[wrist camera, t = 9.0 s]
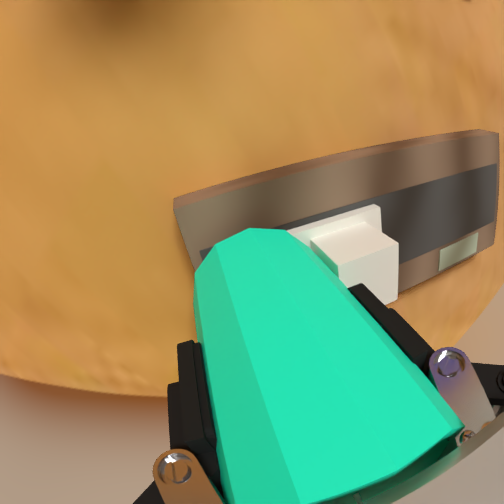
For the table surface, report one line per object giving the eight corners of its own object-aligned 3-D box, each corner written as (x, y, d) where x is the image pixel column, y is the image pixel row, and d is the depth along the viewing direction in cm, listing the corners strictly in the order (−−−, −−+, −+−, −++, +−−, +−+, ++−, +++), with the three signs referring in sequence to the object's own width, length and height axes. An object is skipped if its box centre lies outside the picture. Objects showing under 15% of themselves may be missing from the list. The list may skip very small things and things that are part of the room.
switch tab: (373, 203, 15) (415, 225, 12) (377, 269, 17) (412, 299, 14) (283, 231, 14) (312, 262, 11) (297, 299, 16) (323, 339, 13)
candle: (177, 242, 12) (218, 604, 2) (316, 214, 13) (551, 430, 3) (207, 351, 15) (264, 592, 4) (319, 322, 16) (444, 519, 5)
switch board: (479, 129, 17) (499, 133, 15) (477, 235, 21) (494, 244, 19) (174, 198, 15) (173, 210, 13) (223, 336, 19) (229, 358, 17)
